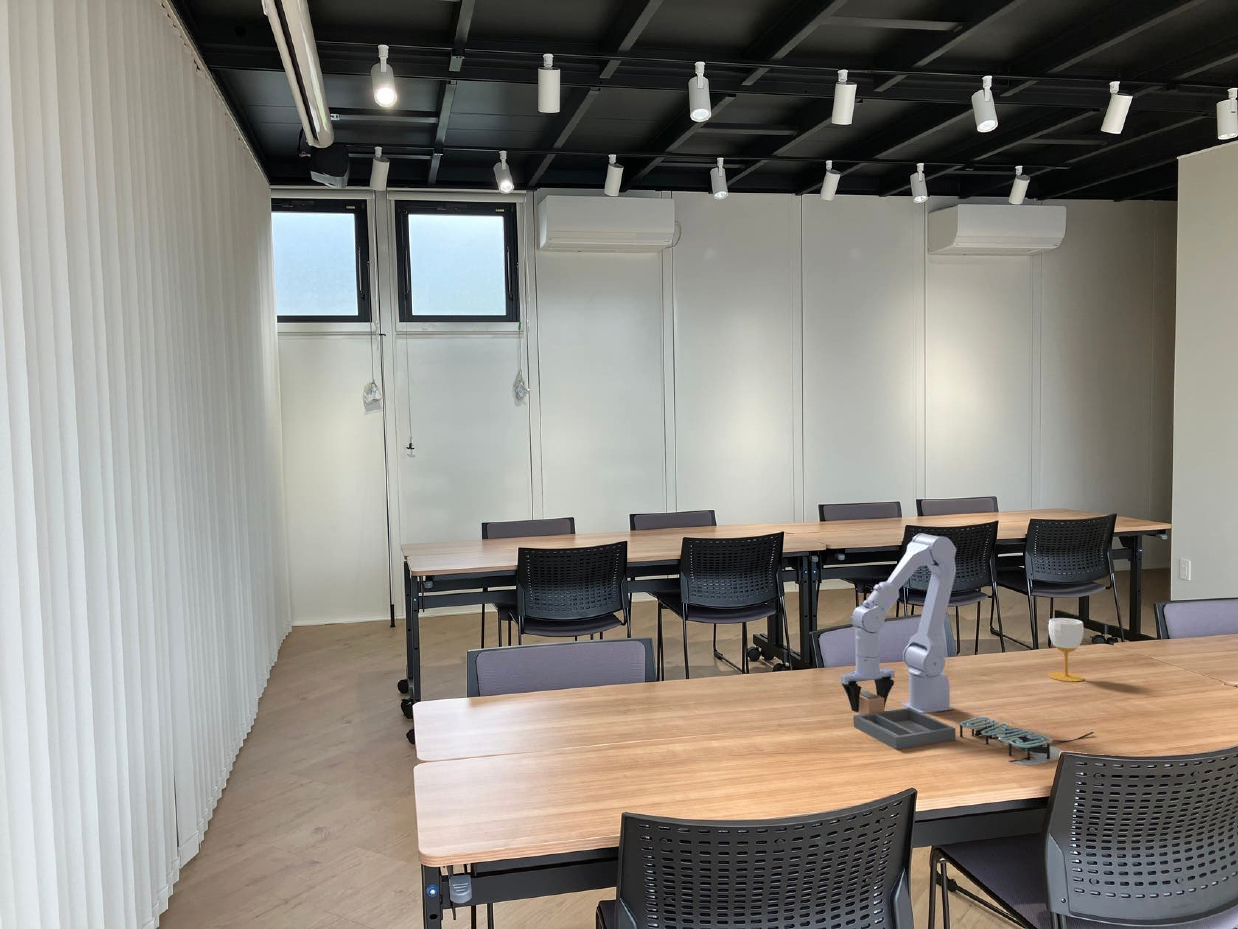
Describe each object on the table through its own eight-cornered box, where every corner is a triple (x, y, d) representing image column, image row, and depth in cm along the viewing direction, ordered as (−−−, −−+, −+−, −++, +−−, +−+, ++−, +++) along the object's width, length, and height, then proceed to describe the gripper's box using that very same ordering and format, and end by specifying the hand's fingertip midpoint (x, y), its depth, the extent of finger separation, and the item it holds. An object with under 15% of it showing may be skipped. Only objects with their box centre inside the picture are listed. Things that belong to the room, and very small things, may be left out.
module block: (867, 710, 216) (867, 689, 216) (884, 718, 209) (884, 697, 209) (852, 712, 214) (851, 691, 214) (868, 720, 208) (868, 699, 207)
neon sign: (1116, 726, 189) (1025, 750, 176) (1116, 745, 189) (1025, 770, 176) (1033, 701, 208) (945, 720, 195) (1033, 718, 208) (945, 738, 195)
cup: (1090, 681, 235) (1090, 624, 235) (1058, 682, 235) (1057, 624, 235) (1073, 672, 244) (1073, 617, 244) (1042, 673, 245) (1041, 618, 244)
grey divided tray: (909, 719, 207) (909, 707, 207) (955, 741, 192) (955, 728, 192) (853, 728, 202) (853, 715, 202) (896, 751, 187) (896, 737, 187)
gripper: (882, 648, 217) (882, 701, 218) (833, 654, 213) (833, 708, 213) (899, 655, 211) (900, 709, 211) (849, 661, 206) (850, 716, 206)
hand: (868, 709), depth 212 cm, fingers open, 7 cm apart
